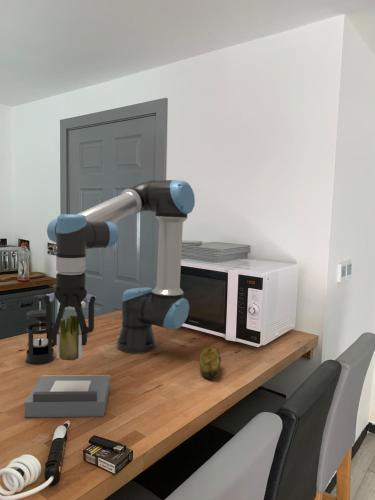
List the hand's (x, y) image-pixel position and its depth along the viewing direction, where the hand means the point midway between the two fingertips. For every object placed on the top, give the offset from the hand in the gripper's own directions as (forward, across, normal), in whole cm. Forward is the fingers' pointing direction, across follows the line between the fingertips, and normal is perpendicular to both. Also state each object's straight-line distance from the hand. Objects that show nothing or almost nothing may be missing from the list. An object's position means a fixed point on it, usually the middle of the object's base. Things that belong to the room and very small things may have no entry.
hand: (69, 356), depth 108 cm
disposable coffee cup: (+14, +10, -58) cm, 60 cm away
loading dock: (+14, 0, -1) cm, 14 cm away
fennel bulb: (+1, 0, 0) cm, 1 cm away
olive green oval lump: (+14, -42, -20) cm, 49 cm away
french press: (+14, +16, -32) cm, 38 cm away
